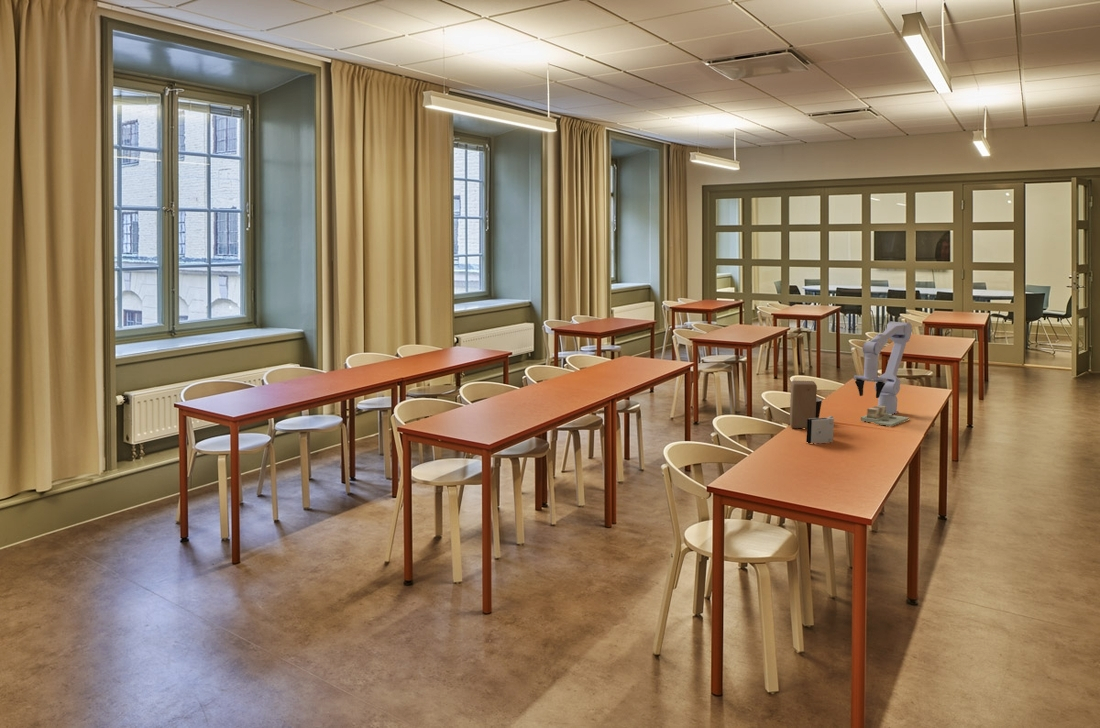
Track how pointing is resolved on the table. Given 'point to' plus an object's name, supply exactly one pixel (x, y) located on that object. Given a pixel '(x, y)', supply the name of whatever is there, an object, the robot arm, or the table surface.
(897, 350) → the robot arm
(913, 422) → the table surface
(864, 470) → the table surface
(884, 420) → the sage cabinet frame
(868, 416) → the birch door
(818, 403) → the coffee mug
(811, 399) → the wooden block
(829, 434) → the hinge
